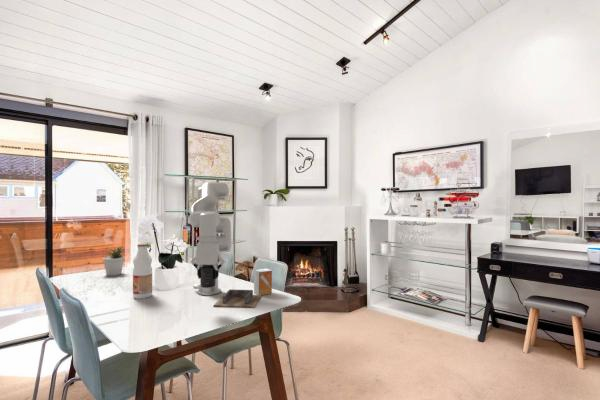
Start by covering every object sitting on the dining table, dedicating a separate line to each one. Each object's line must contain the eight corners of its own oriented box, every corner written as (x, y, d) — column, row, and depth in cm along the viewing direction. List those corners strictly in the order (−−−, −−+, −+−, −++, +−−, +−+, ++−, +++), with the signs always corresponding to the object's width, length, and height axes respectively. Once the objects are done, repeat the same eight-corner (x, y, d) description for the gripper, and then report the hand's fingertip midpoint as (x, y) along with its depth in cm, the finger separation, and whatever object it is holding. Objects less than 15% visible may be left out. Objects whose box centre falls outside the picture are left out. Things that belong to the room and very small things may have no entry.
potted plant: (119, 276, 227) (119, 246, 226) (99, 276, 227) (99, 246, 226) (129, 272, 239) (129, 243, 239) (109, 272, 239) (109, 243, 239)
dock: (213, 306, 166) (213, 297, 166) (224, 295, 184) (224, 287, 184) (254, 307, 165) (254, 298, 165) (260, 296, 183) (260, 288, 183)
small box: (258, 296, 184) (258, 272, 184) (253, 293, 189) (253, 269, 189) (272, 293, 189) (272, 270, 188) (266, 291, 194) (266, 268, 194)
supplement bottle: (201, 283, 162) (201, 258, 162) (216, 283, 163) (216, 258, 162) (198, 288, 155) (198, 261, 155) (214, 288, 156) (214, 261, 155)
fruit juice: (147, 299, 178) (147, 245, 178) (129, 298, 178) (129, 245, 178) (155, 293, 188) (155, 242, 187) (138, 293, 188) (138, 242, 187)
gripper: (186, 240, 155) (186, 279, 156) (224, 241, 154) (224, 280, 154) (192, 238, 162) (192, 275, 163) (228, 238, 161) (228, 276, 162)
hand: (207, 277), depth 159 cm, fingers closed on supplement bottle, 6 cm apart
